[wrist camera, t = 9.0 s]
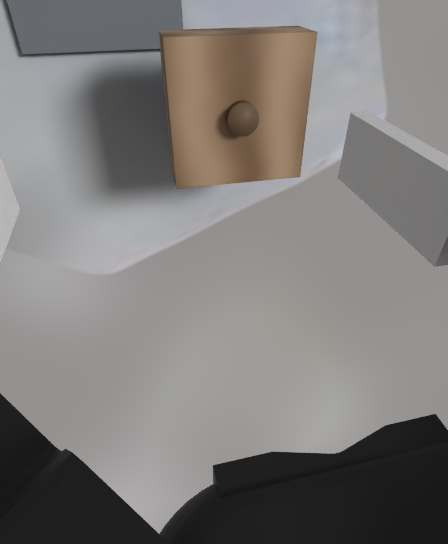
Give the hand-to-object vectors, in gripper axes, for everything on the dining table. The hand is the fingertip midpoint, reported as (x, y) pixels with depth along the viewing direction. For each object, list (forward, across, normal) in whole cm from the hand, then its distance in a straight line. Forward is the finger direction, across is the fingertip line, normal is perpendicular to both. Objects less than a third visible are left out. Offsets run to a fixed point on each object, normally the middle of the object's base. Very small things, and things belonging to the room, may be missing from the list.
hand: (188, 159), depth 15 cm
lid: (+20, +6, -3) cm, 21 cm away
